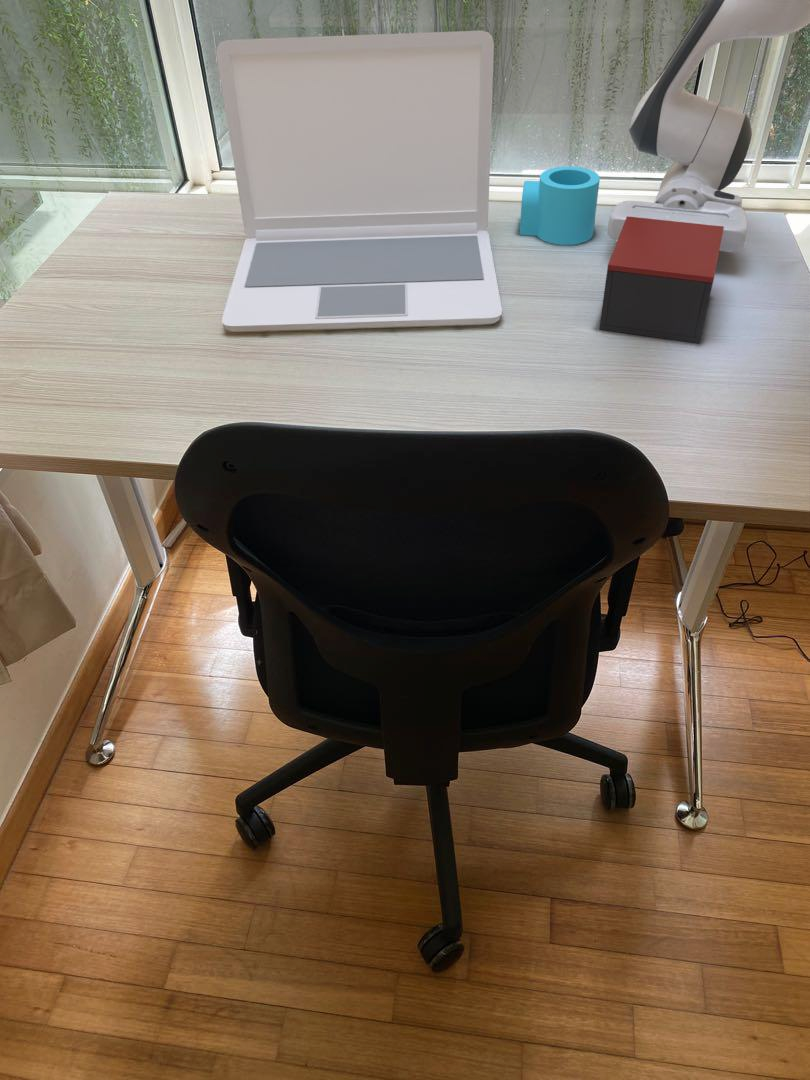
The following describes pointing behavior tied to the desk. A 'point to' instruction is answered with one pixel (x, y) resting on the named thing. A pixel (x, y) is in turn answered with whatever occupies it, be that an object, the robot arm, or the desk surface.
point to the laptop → (361, 180)
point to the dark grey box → (654, 306)
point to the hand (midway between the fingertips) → (670, 248)
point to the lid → (667, 249)
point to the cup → (560, 205)
